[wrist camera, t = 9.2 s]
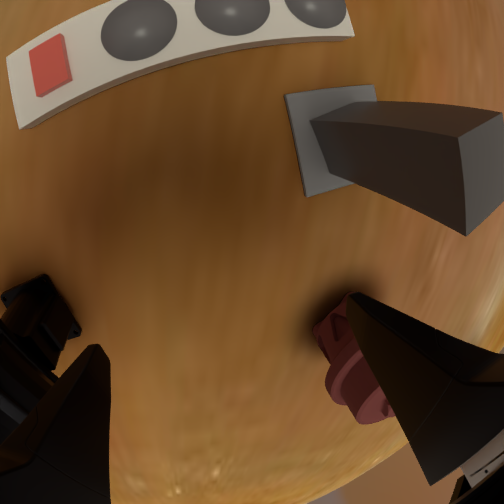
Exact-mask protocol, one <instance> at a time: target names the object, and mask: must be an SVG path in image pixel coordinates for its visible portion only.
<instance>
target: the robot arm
mask: <svg viewBox="0 0 504 504" xmlns="http://www.w3.org/2000/svg"><path fill="white" fill-rule="evenodd" d="M43 279H44V280H45V281H46V282H44V281H43ZM5 297H6V298H5ZM1 300H2V302H3V303H4V305H5V306H6V308H7V310H6V311H5V313H4V314H3V316H2V317H1V319H0V504H111V499H110V480H109V430H110V409H111V373H110V360H109V358H108V356H107V355H106V353H105V352H104V350H103V348H102V347H101V346H100V345H99V344H91V345H88V346H87V348H86V349H85V350H84V351H83V352H82V353H81V354H80V355H79V356H78V357H77V359H76V360H75V361H74V362H73V363H72V364H71V365H70V366H69V368H68V369H67V370H66V371H65V372H64V373H63V374H62V376H61V377H60V378H58V377H57V376H56V375H55V374H54V373H53V372H51V370H55V369H56V366H57V362H58V359H59V356H60V353H61V351H63V350H64V347H65V344H66V341H67V340H69V339H72V338H75V337H79V336H80V335H81V332H82V330H81V328H80V326H79V325H78V324H77V322H76V321H75V319H74V317H73V315H72V314H71V312H70V311H69V309H68V308H67V306H66V304H65V303H64V301H63V300H62V298H61V296H60V295H59V294H58V292H57V290H56V289H55V287H54V285H53V284H52V282H51V280H50V278H49V277H48V276H47V275H45V274H42V275H40V276H38V277H35V278H33V279H31V280H29V281H27V282H24V283H22V284H20V285H18V286H16V287H14V288H12V289H9V290H7V291H5V292H3V293H2V295H1ZM346 317H347V320H348V322H349V324H350V327H351V329H352V332H353V334H354V336H355V339H356V341H357V343H358V346H359V348H360V350H361V352H362V354H363V356H364V358H365V360H366V362H367V363H368V365H369V367H370V369H371V371H372V373H373V374H374V376H375V378H376V380H377V382H378V384H379V385H380V387H381V389H382V391H383V393H384V395H385V397H386V398H387V400H388V402H389V404H390V406H391V408H392V410H393V412H394V414H395V416H396V418H397V419H398V421H399V423H400V425H401V427H402V429H403V431H404V433H405V435H406V437H407V439H408V441H409V443H410V445H411V448H412V449H413V452H414V454H415V456H416V458H417V460H418V462H419V464H420V466H421V468H422V470H423V472H424V475H425V477H426V479H427V481H428V483H429V485H430V486H431V485H433V484H435V483H436V482H438V481H439V480H441V479H442V478H444V477H446V476H447V475H449V474H450V473H452V472H453V471H454V470H456V469H457V468H459V467H461V469H462V471H463V473H464V475H463V476H461V477H460V478H459V479H457V482H456V486H455V489H454V492H453V495H452V497H451V500H450V503H449V504H504V354H499V353H494V352H491V351H488V350H486V349H483V348H480V347H478V346H475V345H472V344H470V343H467V342H465V341H462V340H460V339H457V338H455V337H453V336H450V335H448V334H446V333H444V332H442V331H440V330H438V329H436V330H435V328H433V327H431V326H429V325H427V324H425V323H423V322H421V321H419V320H417V319H415V318H413V317H411V316H409V315H406V314H404V313H402V312H400V311H398V310H396V309H394V308H392V307H390V306H388V305H386V304H384V303H381V302H379V301H377V300H375V299H373V298H371V297H369V296H367V295H365V294H363V293H360V292H354V293H351V294H349V295H348V296H347V302H346ZM75 330H76V331H78V332H76V331H75Z"/></svg>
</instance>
